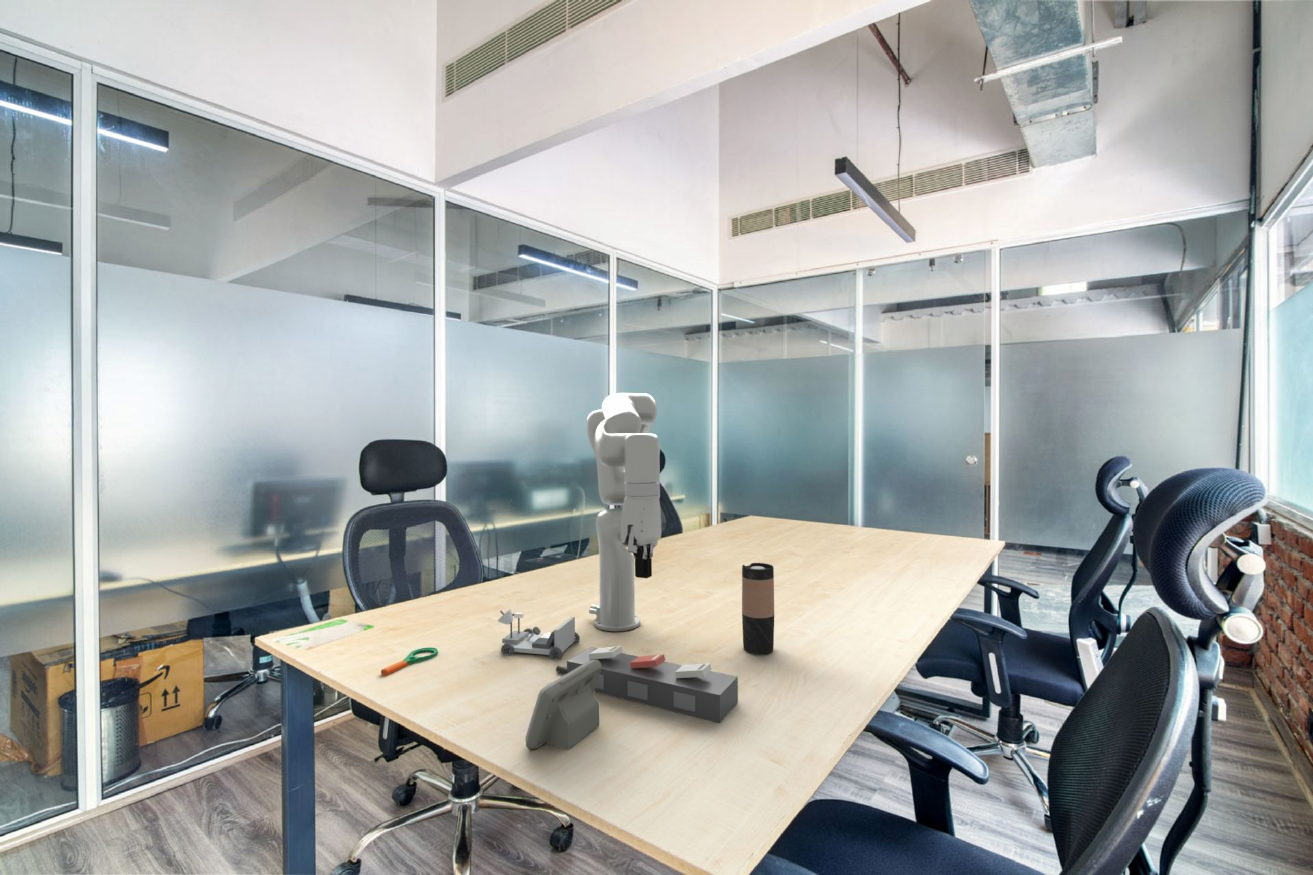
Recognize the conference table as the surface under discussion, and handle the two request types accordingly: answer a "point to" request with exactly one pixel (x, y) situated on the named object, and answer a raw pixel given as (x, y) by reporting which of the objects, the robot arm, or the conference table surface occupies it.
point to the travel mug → (758, 608)
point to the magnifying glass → (410, 660)
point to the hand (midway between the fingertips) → (643, 576)
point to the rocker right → (693, 670)
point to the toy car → (538, 638)
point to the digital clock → (566, 709)
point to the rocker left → (605, 652)
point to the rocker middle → (647, 661)
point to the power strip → (663, 686)
